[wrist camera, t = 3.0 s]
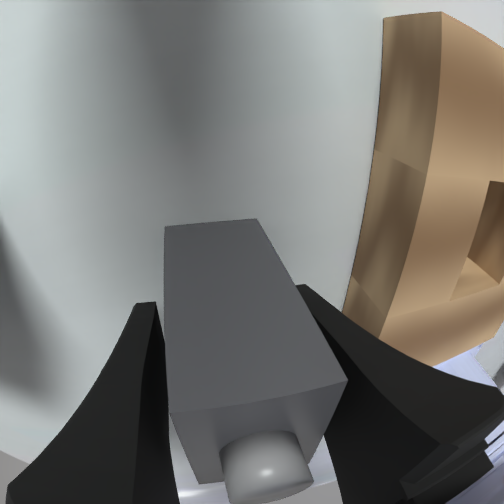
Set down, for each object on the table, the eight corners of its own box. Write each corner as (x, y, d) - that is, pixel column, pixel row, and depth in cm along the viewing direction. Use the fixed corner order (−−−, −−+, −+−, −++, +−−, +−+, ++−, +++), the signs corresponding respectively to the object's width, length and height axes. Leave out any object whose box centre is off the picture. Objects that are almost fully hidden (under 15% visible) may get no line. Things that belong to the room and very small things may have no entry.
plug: (253, 313, 13) (322, 496, 6) (178, 322, 13) (206, 520, 6) (256, 218, 11) (375, 431, 4) (164, 226, 10) (176, 477, 4)
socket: (469, 311, 19) (500, 344, 15) (330, 353, 16) (360, 408, 13) (531, 90, 10) (581, 108, 7) (383, 17, 8) (461, 10, 5)
